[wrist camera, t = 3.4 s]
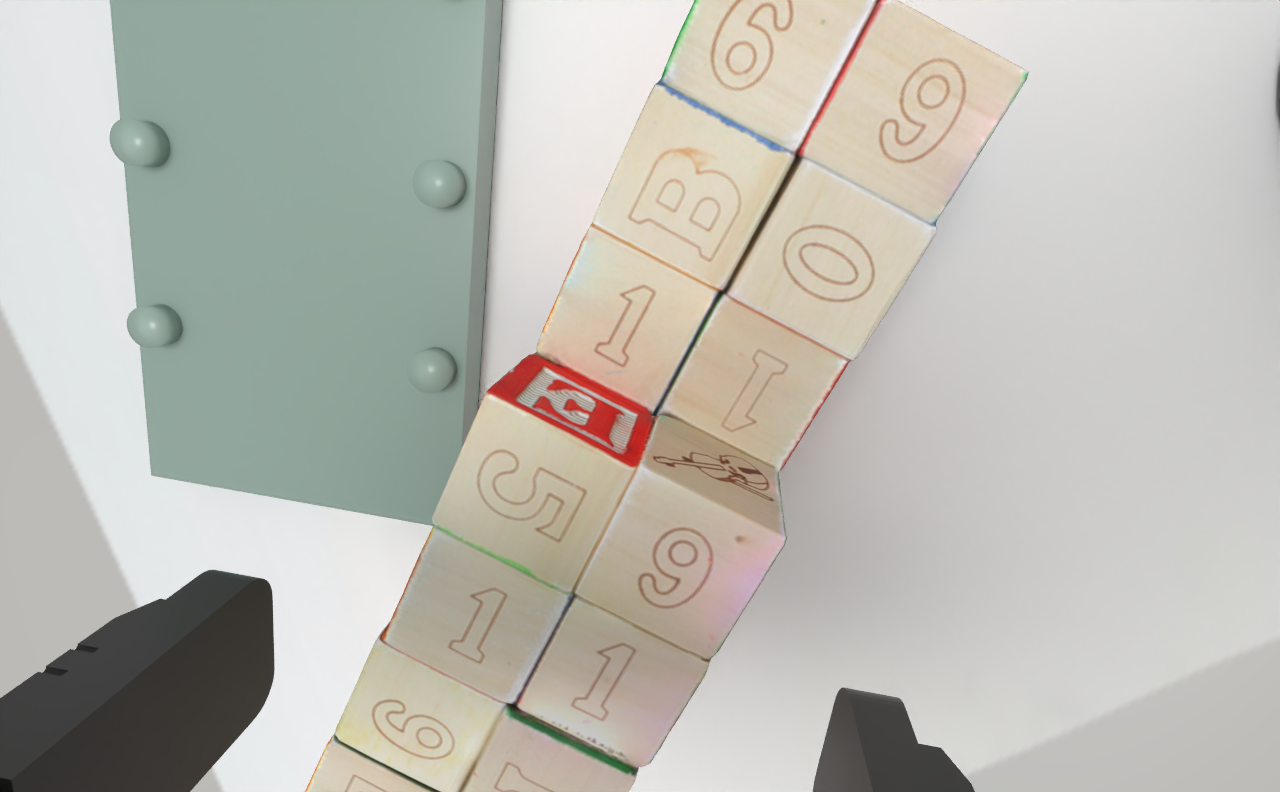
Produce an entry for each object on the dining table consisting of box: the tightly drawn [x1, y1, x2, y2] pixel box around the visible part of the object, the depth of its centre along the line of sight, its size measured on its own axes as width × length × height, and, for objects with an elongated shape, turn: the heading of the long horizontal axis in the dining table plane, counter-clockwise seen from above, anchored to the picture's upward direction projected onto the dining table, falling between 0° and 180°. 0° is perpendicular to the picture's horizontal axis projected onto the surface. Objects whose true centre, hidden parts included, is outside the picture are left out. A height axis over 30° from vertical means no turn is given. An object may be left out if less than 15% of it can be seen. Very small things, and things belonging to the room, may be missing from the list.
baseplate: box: [110, 0, 503, 526], centre depth 23 cm, size 12×24×2 cm, turn 172°
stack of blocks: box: [305, 0, 1029, 792], centre depth 19 cm, size 21×6×12 cm, turn 153°
